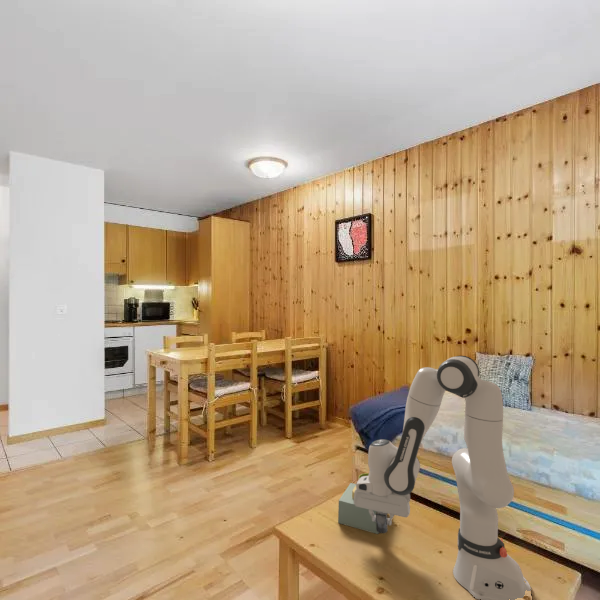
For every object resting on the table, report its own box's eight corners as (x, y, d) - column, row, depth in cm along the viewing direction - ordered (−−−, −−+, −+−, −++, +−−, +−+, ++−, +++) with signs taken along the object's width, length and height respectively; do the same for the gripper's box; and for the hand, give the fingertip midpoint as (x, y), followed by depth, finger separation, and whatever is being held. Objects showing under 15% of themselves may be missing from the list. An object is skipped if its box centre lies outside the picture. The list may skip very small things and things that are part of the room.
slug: (388, 528, 143) (388, 512, 143) (385, 534, 139) (385, 517, 139) (377, 525, 145) (377, 509, 145) (375, 531, 141) (374, 515, 141)
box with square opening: (386, 512, 162) (387, 485, 162) (378, 534, 147) (379, 504, 147) (349, 503, 168) (350, 477, 168) (338, 522, 154) (338, 494, 154)
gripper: (411, 486, 140) (412, 524, 140) (356, 476, 149) (357, 512, 149) (408, 494, 135) (409, 534, 135) (351, 483, 143) (352, 520, 143)
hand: (381, 522), depth 142 cm, fingers closed on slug, 4 cm apart
